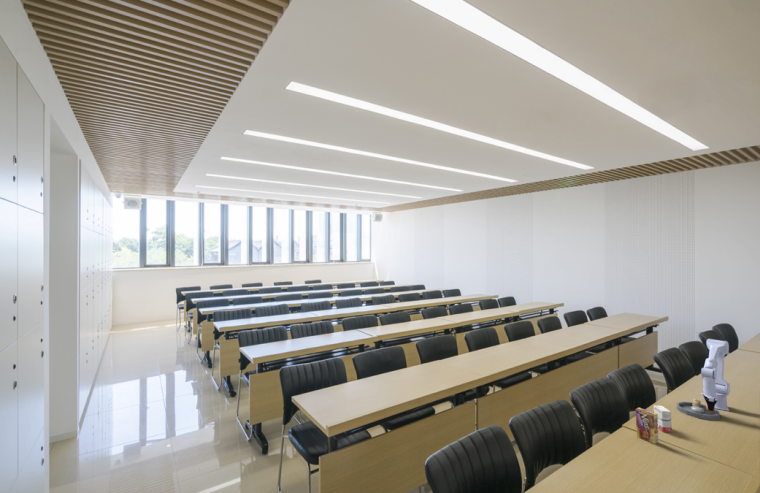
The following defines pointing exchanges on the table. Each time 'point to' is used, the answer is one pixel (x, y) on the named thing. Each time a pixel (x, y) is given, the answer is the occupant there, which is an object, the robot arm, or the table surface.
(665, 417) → the ink box
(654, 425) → the candy box
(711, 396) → the robot arm
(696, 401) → the birch bead
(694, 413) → the groove tray
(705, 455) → the table surface
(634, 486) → the table surface
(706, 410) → the terracotta bead
